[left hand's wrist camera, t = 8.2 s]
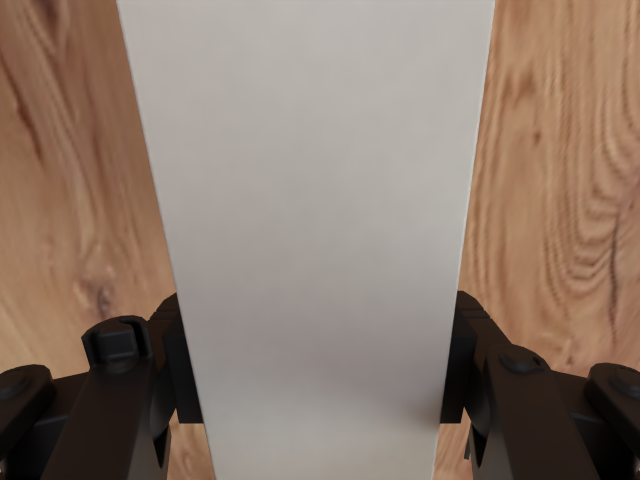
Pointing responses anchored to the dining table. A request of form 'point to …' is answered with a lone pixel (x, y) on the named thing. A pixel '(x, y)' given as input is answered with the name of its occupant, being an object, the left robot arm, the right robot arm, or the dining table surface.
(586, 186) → the dining table surface
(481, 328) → the left robot arm
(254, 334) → the bar
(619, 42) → the dining table surface
